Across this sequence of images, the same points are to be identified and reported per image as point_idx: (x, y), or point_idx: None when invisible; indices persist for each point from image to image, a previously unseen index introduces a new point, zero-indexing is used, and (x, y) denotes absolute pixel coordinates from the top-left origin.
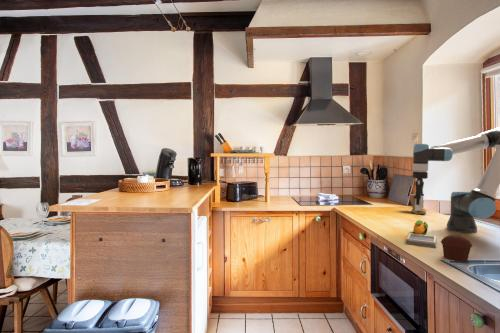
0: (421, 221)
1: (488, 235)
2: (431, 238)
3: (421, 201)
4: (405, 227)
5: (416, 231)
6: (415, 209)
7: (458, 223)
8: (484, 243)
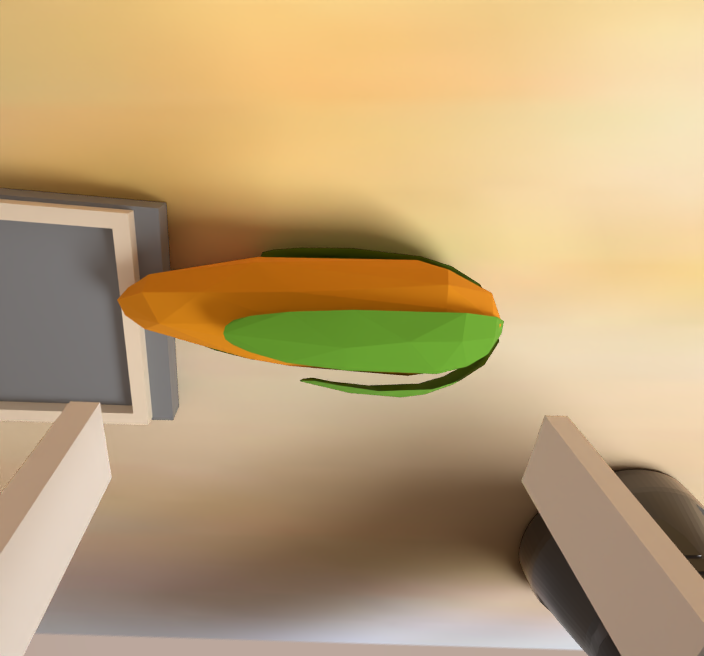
0: (367, 364)
1: (487, 627)
2: (110, 387)
3: (578, 562)
4: (577, 164)
5: (134, 289)
6: (65, 422)
7: (569, 573)
8: (275, 609)
